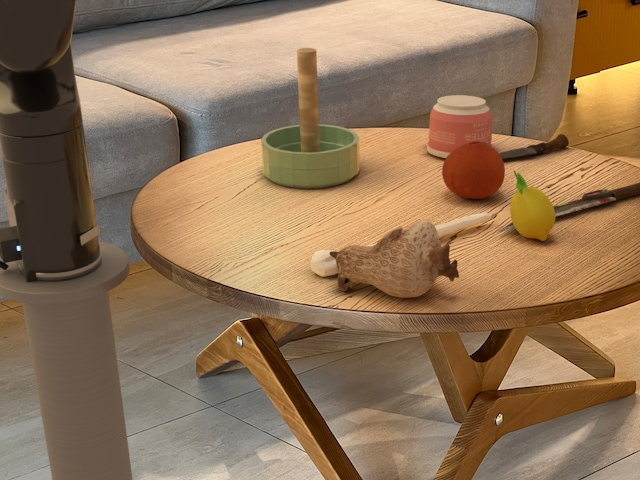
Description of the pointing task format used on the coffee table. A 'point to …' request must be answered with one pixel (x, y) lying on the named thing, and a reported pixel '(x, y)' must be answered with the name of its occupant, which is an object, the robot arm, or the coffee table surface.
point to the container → (458, 124)
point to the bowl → (310, 157)
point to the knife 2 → (592, 200)
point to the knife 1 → (537, 148)
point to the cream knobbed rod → (327, 264)
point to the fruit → (473, 170)
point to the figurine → (397, 262)
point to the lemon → (531, 211)
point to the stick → (308, 99)
